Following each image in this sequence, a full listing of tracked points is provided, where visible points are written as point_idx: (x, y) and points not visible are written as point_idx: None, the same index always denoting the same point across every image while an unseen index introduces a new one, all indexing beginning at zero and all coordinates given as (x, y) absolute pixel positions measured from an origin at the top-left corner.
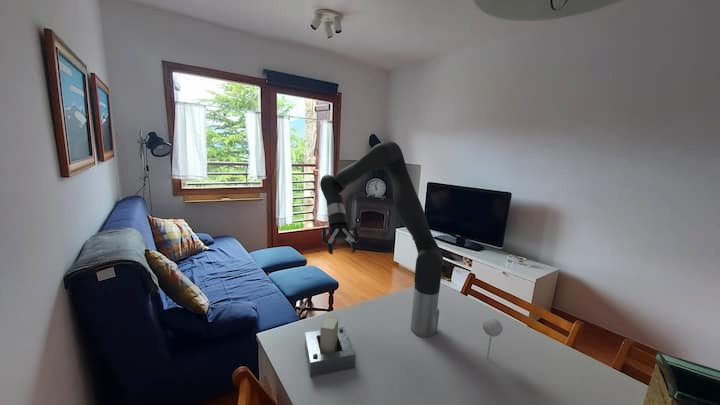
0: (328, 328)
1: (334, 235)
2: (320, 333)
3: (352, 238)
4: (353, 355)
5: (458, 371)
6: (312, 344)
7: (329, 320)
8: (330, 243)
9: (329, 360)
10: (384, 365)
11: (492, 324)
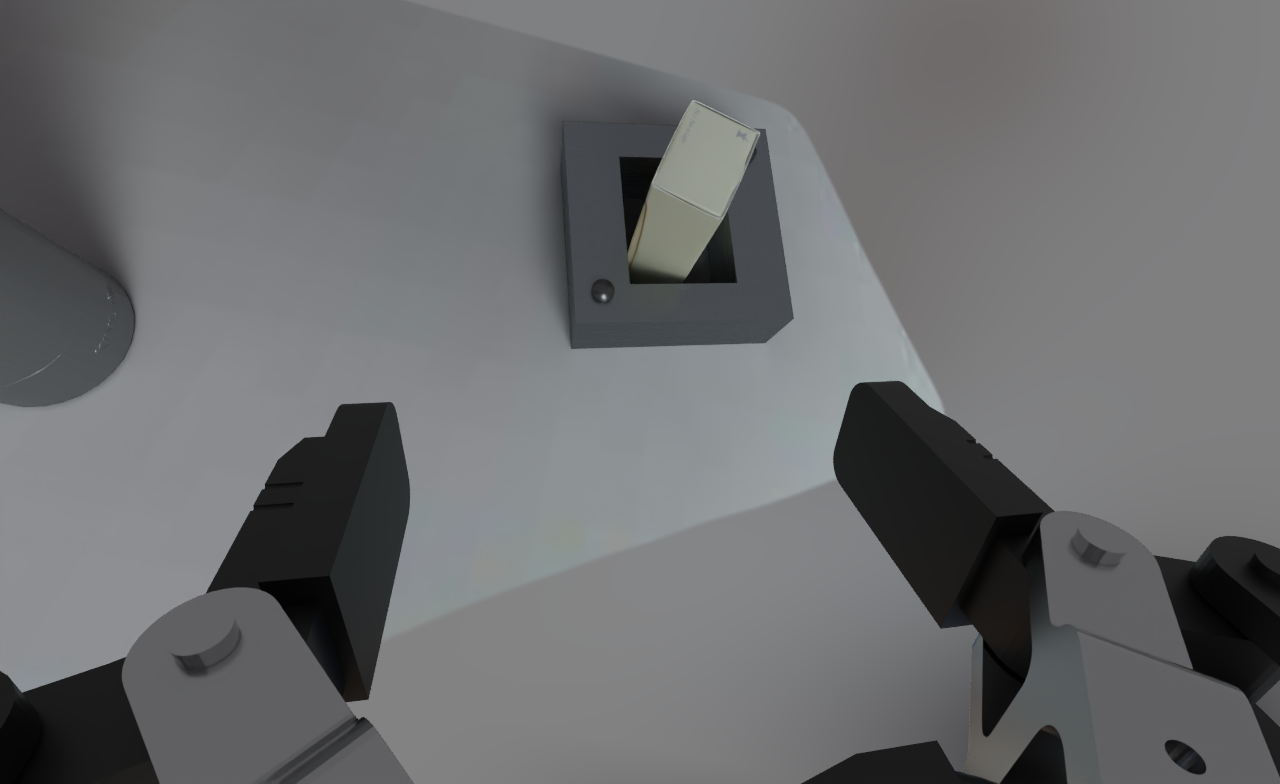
0: (718, 114)
1: (1141, 758)
2: (715, 294)
3: (191, 742)
4: (574, 123)
5: (82, 33)
6: (756, 227)
7: (706, 179)
8: (1024, 545)
9: None
10: (424, 148)
11: None
